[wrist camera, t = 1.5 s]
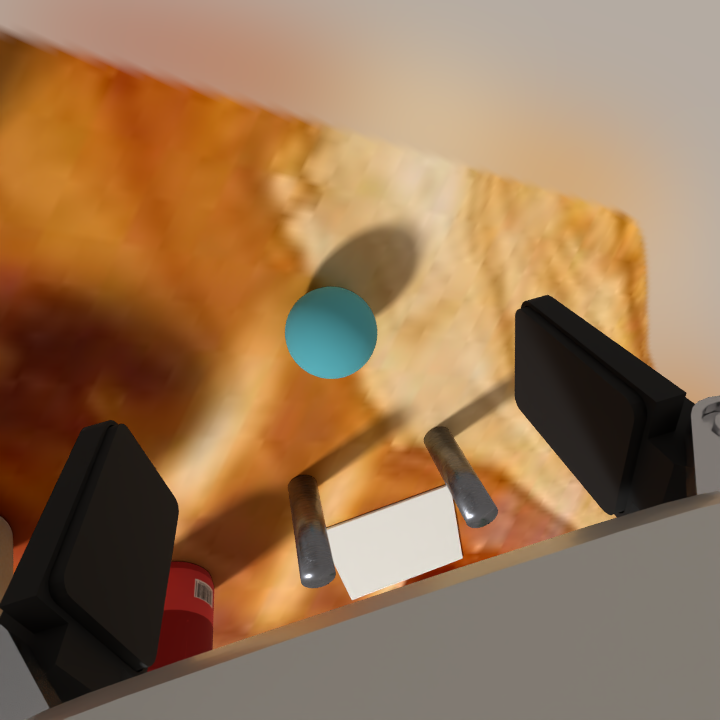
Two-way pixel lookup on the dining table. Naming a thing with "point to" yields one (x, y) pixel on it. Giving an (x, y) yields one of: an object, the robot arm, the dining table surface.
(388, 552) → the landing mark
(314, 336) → the teal sphere
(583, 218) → the dining table surface
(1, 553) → the plant pot
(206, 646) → the canned food
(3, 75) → the dining table surface
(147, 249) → the dining table surface
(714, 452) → the robot arm
